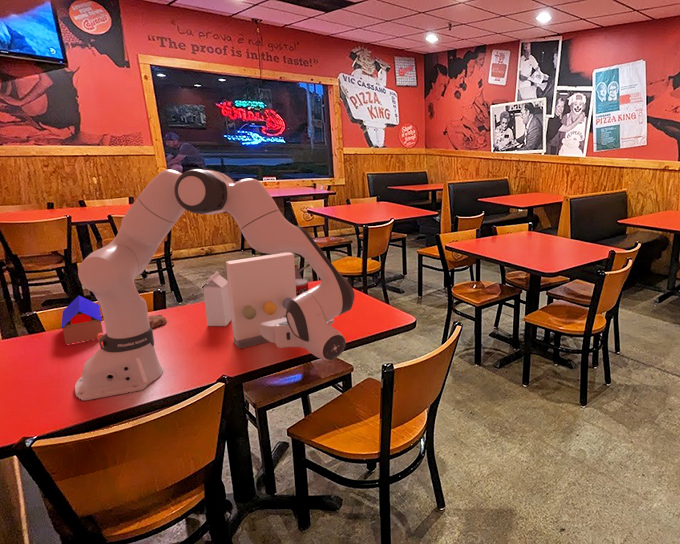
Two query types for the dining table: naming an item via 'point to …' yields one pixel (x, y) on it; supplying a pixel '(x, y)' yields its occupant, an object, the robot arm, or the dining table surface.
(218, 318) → the milk carton
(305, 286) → the canned food
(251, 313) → the olive button
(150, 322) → the cookie
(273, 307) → the amber button
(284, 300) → the slate button
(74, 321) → the house
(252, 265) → the button panel
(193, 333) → the dining table surface
